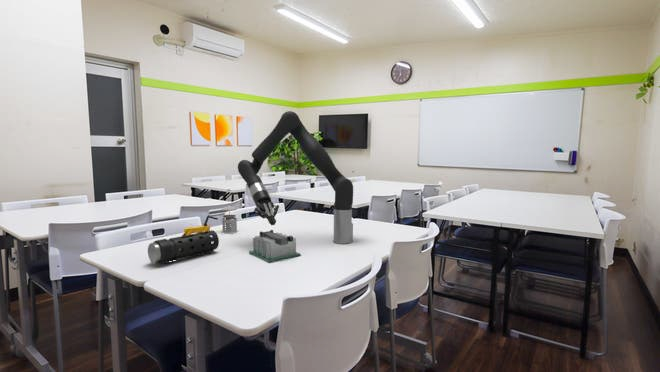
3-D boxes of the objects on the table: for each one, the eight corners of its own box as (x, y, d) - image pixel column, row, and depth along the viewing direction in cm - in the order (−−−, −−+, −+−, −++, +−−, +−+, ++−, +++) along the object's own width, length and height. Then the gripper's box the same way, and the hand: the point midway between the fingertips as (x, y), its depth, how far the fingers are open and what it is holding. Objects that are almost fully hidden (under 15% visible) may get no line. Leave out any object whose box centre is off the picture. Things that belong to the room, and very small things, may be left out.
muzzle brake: (219, 253, 162) (219, 231, 161) (158, 269, 140) (157, 243, 139) (207, 249, 168) (207, 228, 166) (147, 264, 146) (146, 239, 145)
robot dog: (220, 241, 183) (220, 215, 182) (184, 246, 172) (183, 219, 171) (217, 238, 188) (216, 213, 186) (181, 243, 177) (180, 217, 176)
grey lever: (269, 237, 166) (269, 230, 166) (288, 244, 154) (288, 237, 154) (262, 238, 164) (262, 232, 163) (280, 245, 152) (280, 238, 151)
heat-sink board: (279, 247, 172) (279, 227, 171) (301, 256, 158) (301, 235, 157) (249, 253, 162) (248, 232, 161) (269, 263, 148) (269, 240, 147)
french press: (229, 235, 195) (227, 190, 192) (215, 232, 201) (213, 189, 198) (242, 232, 203) (241, 188, 200) (228, 229, 209) (227, 187, 207)
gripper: (249, 190, 160) (263, 221, 152) (274, 188, 169) (289, 217, 161) (244, 200, 165) (257, 231, 157) (269, 198, 173) (283, 227, 165)
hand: (273, 224), depth 159 cm, fingers closed
